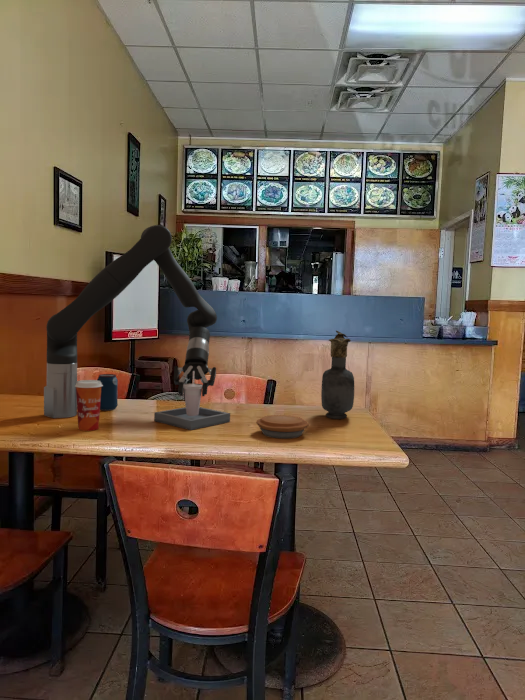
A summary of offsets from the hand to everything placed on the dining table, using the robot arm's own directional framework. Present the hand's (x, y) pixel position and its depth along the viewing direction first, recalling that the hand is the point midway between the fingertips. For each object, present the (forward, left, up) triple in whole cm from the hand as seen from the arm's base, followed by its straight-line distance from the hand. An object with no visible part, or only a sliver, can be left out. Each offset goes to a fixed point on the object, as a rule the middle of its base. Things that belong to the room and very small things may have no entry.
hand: (192, 394), depth 165 cm
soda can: (-7, +36, -9) cm, 38 cm away
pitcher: (+45, -26, -9) cm, 52 cm away
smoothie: (+1, +1, -7) cm, 7 cm away
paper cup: (-28, +14, -9) cm, 33 cm away
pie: (+9, -29, -9) cm, 32 cm away
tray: (+1, +1, -9) cm, 9 cm away
